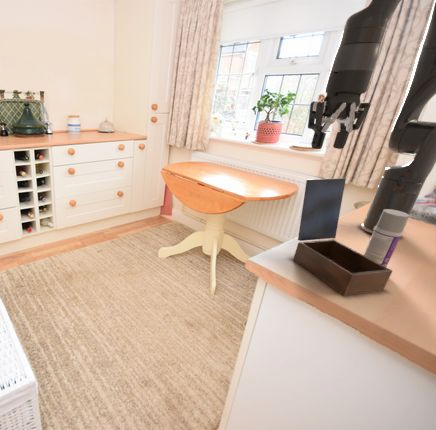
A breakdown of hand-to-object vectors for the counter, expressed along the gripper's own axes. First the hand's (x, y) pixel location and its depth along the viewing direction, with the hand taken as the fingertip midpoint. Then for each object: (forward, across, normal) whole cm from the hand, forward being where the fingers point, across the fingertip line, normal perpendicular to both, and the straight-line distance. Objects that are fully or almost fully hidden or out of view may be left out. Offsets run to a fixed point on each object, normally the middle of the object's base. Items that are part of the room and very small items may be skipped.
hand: (327, 148), depth 69 cm
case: (+27, 0, +12) cm, 30 cm away
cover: (+14, 0, +4) cm, 15 cm away
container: (+28, -11, +12) cm, 32 cm away
